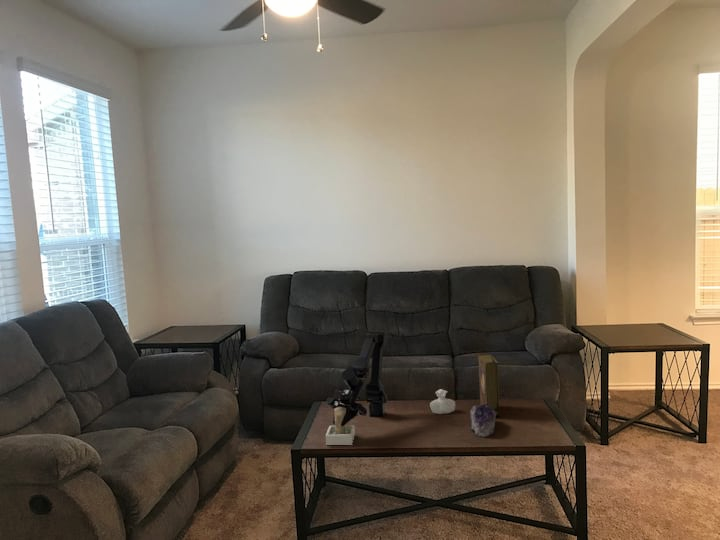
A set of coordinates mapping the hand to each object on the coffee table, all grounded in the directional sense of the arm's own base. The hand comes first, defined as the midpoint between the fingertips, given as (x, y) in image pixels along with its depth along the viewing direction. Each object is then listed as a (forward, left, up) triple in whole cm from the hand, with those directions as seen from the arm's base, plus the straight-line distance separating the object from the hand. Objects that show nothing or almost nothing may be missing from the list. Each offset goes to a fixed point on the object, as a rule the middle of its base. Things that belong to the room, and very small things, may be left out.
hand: (337, 425), depth 221 cm
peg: (-1, -1, -7) cm, 7 cm away
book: (-57, -47, -7) cm, 74 cm away
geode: (-56, -25, -8) cm, 62 cm away
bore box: (-1, -1, -7) cm, 7 cm away
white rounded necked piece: (-36, -43, -7) cm, 56 cm away
